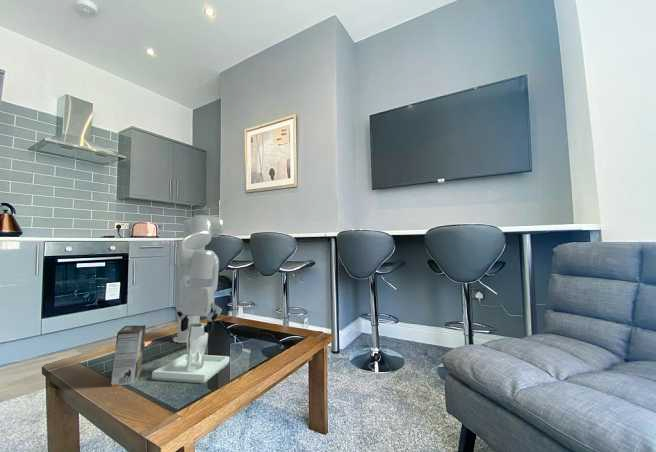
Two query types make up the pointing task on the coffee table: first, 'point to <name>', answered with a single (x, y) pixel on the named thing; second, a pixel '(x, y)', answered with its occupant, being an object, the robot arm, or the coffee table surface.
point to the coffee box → (128, 355)
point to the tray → (179, 374)
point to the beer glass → (196, 346)
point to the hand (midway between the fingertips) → (196, 331)
